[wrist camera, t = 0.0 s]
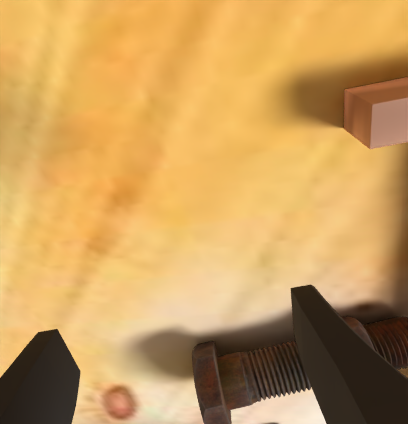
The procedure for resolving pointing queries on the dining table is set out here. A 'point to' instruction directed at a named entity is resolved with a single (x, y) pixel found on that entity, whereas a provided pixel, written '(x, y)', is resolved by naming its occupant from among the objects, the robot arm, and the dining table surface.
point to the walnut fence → (378, 113)
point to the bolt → (276, 369)
